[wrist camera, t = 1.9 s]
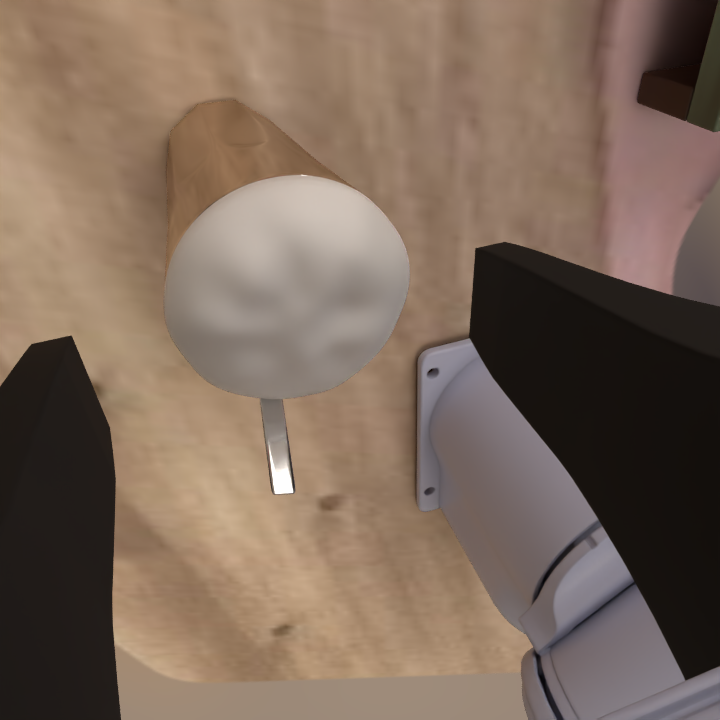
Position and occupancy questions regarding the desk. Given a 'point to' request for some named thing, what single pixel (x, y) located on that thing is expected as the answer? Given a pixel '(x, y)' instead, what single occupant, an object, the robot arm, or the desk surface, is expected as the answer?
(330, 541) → the desk surface
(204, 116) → the milkshake
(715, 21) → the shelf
